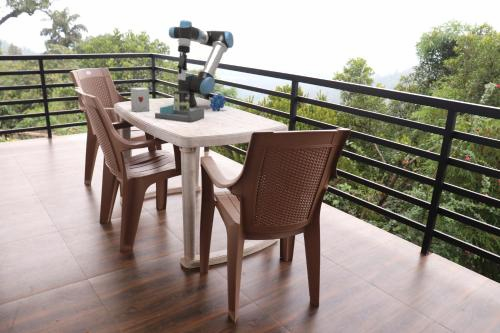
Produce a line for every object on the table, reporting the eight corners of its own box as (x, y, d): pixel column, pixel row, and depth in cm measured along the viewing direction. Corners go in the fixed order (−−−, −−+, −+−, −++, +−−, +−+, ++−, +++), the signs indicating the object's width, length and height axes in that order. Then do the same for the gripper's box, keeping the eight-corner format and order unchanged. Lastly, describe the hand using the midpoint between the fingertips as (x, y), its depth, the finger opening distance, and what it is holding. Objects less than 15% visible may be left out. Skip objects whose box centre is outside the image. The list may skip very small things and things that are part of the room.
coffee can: (191, 112, 277) (191, 91, 273) (186, 114, 267) (186, 92, 263) (177, 111, 279) (176, 90, 275) (171, 113, 269) (171, 92, 265)
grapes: (223, 109, 291) (223, 92, 288) (226, 111, 285) (227, 93, 282) (207, 110, 287) (207, 92, 283) (210, 111, 281) (211, 94, 277)
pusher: (160, 116, 253) (159, 107, 251) (171, 113, 265) (171, 104, 263) (162, 117, 252) (162, 107, 250) (174, 113, 264) (173, 104, 262)
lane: (155, 118, 252) (154, 107, 250) (170, 114, 267) (169, 103, 265) (190, 122, 244) (190, 111, 242) (204, 117, 259) (204, 107, 257)
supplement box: (137, 112, 269) (136, 89, 265) (131, 110, 276) (130, 87, 271) (150, 111, 275) (149, 88, 270) (143, 109, 281) (142, 87, 277)
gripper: (181, 47, 274) (179, 79, 278) (174, 42, 250) (172, 78, 253) (192, 49, 275) (190, 81, 278) (187, 43, 250) (184, 79, 253)
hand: (181, 79), depth 266 cm, fingers open, 13 cm apart
